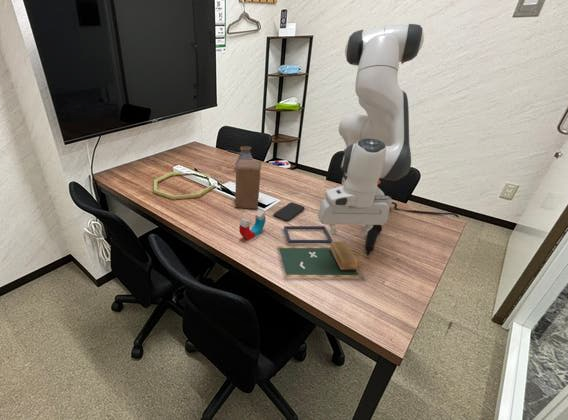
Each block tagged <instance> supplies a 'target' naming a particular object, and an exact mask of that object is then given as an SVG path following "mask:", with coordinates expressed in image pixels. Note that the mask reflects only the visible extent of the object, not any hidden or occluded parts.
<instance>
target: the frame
mask: <svg viewBox="0 0 568 420" xmlns="http://www.w3.org/2000/svg"><path fill="white" fill-rule="evenodd" d="M193 171H194V172H197V173H199V174H202V175H204V176H206V177H209V178H211V179H212V176H211V175H210V174H207V173H202V172H199V171H195V170H193ZM180 172H181V171H173V172H171V171H170V172H168V173H166V174H163V175H162V176H159V177H157V178H155V179H154V180H153V193H154V194H155V195H158V196H161V197H164V198H166V199H170V200H173V201H175V200H185V199H197V198H200V197H202V196H203V195H206V194H207V193H209V192H211V191H212V190H214V188H215V185H211V186H210V185H209V186H207V187H205V188H204V189H202V190H201V191H199V192H197V193H188V194H187V193H185V194H176V195H174V194H171V193H168V192H165V191H163V190H159V189H158V183H159V182H162V181H164V180H166V179H168V178H170V177H175V176H176V177H177V176H186V175H185V174H181V173H180Z"/></svg>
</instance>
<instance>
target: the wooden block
mask: <svg viewBox="0 0 568 420" xmlns="http://www.w3.org/2000/svg"><path fill="white" fill-rule="evenodd" d="M261 169H262V162H261V160H258V159H256V160H255V159H253V160H239V162H238V164H237V167H236V166H235V196H234V197H235V198H234V199H235V200H234V206H235V207H236V208H240V209H250V210H251V209H252V210H256V209H258V205H259V200H258V199H260V198H259V197H260V185H261V184H260V183H261Z"/></svg>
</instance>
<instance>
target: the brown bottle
mask: <svg viewBox="0 0 568 420" xmlns="http://www.w3.org/2000/svg"><path fill="white" fill-rule="evenodd" d="M239 149H240V152H237V151H234V150H231V149H225V150H224V151H223V153H224V154H227V153H231V154H235V155H236V154H237V155H238V156H237V158H236V162H235V165H234V166H235V168H236V167H237V164H238V162H239V160H254V158H253V156H252V153H251V150H252V147H251V146H248V145H242V146H240V147H239Z"/></svg>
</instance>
